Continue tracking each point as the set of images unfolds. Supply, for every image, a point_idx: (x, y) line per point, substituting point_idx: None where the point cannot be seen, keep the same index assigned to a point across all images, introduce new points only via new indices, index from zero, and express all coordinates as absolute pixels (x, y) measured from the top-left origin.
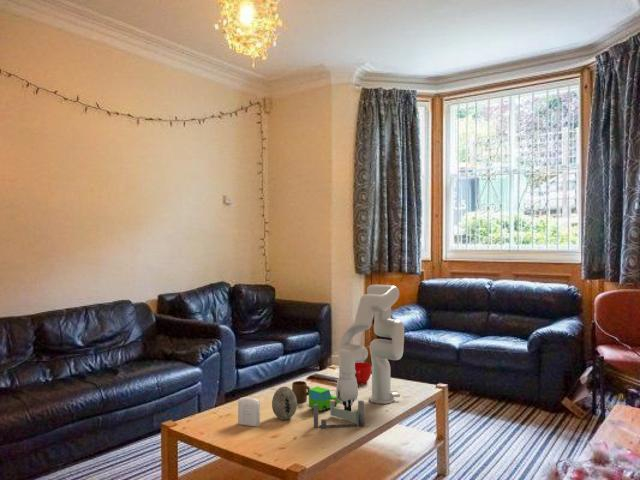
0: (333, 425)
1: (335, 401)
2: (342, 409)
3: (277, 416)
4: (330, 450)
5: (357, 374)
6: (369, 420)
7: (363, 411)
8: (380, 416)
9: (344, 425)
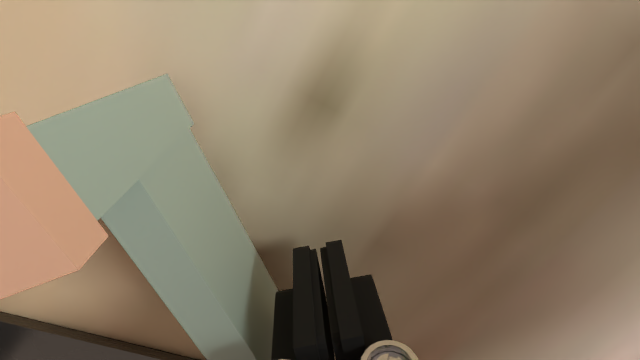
0: (77, 357)
1: (91, 250)
2: (229, 344)
3: None
4: None
5: None
6: (474, 347)
7: None
8: (624, 310)
9: None
